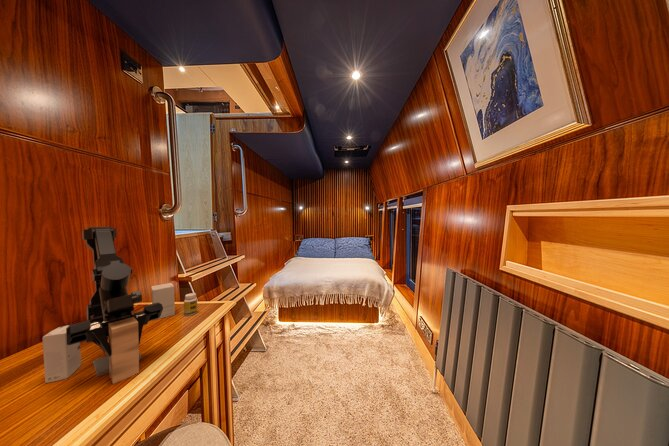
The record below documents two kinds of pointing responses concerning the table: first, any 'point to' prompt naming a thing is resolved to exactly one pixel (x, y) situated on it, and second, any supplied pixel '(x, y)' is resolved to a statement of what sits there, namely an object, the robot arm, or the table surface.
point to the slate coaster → (104, 365)
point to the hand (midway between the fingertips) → (124, 350)
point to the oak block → (123, 349)
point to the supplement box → (164, 298)
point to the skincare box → (60, 355)
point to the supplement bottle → (190, 304)
